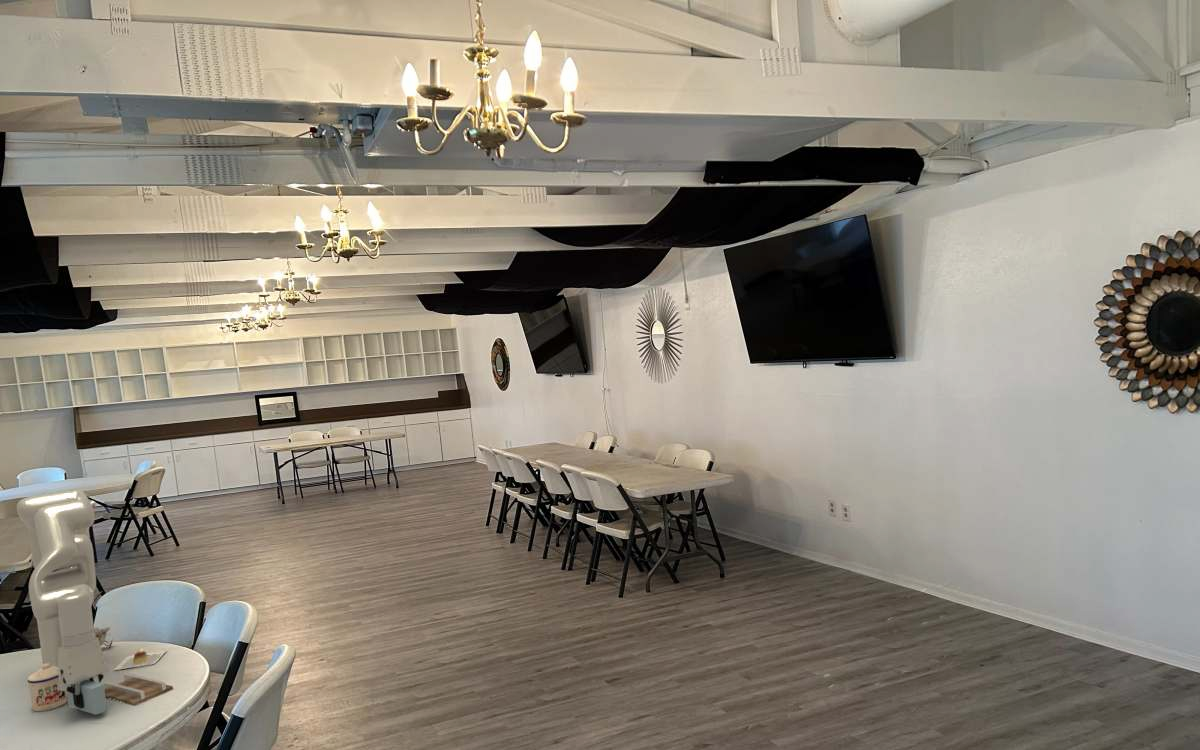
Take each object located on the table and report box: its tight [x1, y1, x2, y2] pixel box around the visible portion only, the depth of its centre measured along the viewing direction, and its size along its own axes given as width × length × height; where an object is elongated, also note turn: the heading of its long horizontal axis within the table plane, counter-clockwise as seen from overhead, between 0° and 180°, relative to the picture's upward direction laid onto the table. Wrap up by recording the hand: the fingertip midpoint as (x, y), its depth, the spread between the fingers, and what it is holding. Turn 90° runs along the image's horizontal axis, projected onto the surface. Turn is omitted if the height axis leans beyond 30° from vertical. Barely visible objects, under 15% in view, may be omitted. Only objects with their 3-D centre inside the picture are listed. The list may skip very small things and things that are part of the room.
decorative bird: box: [96, 626, 114, 649], centre depth 276 cm, size 5×16×8 cm, turn 114°
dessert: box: [113, 648, 168, 671], centre depth 262 cm, size 12×12×5 cm
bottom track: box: [101, 672, 174, 706], centre depth 237 cm, size 20×11×3 cm, turn 58°
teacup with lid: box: [27, 663, 68, 712], centre depth 234 cm, size 12×9×12 cm
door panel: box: [66, 679, 108, 716], centre depth 224 cm, size 14×3×7 cm, turn 58°
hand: (87, 703), depth 225 cm, fingers closed on door panel, 3 cm apart
